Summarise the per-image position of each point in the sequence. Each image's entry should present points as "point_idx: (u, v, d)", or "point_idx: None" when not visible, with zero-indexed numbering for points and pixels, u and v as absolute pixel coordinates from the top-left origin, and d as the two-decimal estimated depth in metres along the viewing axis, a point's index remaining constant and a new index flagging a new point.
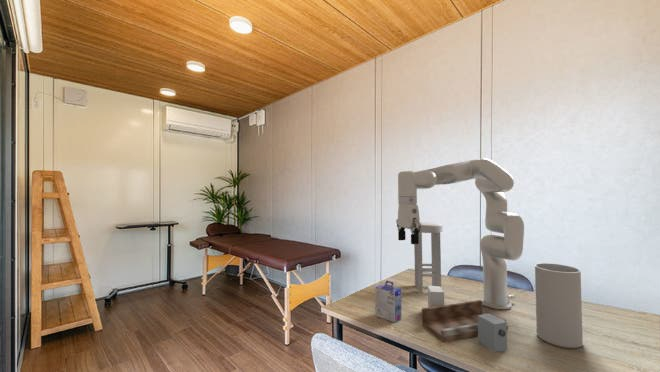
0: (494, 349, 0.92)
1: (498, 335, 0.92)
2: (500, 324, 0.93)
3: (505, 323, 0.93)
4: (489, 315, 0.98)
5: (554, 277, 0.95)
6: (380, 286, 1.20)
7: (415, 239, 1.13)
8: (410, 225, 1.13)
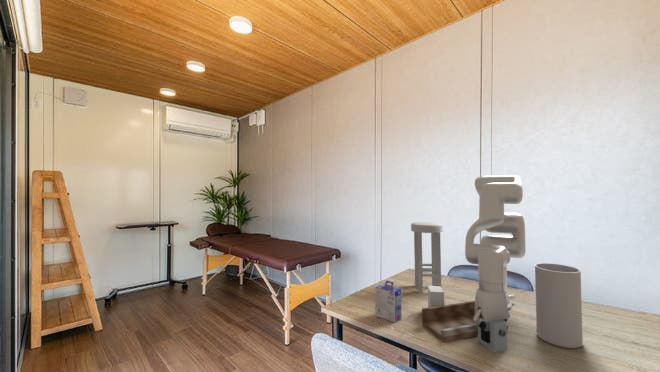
0: (494, 349, 0.92)
1: (498, 335, 0.92)
2: (500, 324, 0.93)
3: (505, 323, 0.93)
4: None
5: (554, 277, 0.95)
6: (380, 286, 1.20)
7: None
8: (507, 314, 0.96)
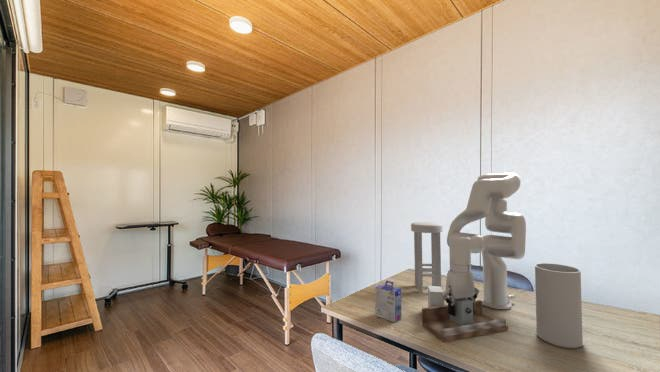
0: (461, 324, 1.06)
1: (465, 312, 1.06)
2: (467, 303, 1.07)
3: (471, 302, 1.07)
4: None
5: (554, 277, 0.95)
6: (380, 286, 1.20)
7: None
8: (474, 293, 1.10)
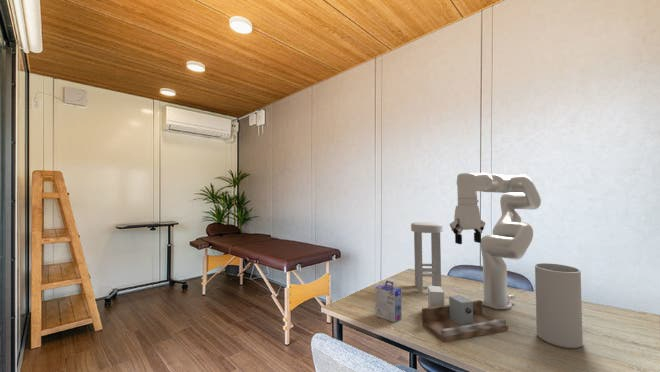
0: (461, 324, 1.06)
1: (465, 312, 1.06)
2: (467, 303, 1.07)
3: (471, 302, 1.07)
4: (459, 296, 1.12)
5: (554, 277, 0.95)
6: (380, 286, 1.20)
7: None
8: (480, 225, 1.19)
